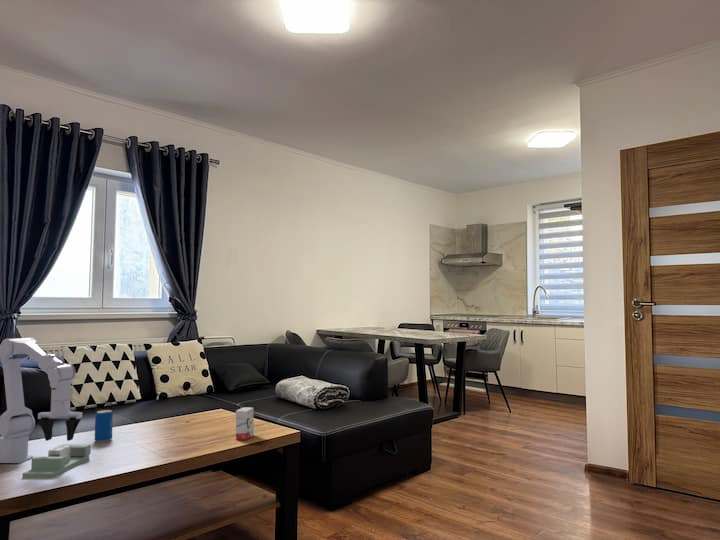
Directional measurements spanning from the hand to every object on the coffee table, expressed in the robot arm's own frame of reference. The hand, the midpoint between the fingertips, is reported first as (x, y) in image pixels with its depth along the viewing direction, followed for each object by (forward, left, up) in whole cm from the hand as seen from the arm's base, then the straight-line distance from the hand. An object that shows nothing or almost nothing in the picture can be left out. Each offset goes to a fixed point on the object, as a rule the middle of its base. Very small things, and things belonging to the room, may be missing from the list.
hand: (59, 439), depth 169 cm
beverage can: (-4, +35, -10) cm, 36 cm away
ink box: (+54, +40, -10) cm, 68 cm away
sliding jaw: (0, +9, -8) cm, 12 cm away
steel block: (0, 0, -8) cm, 8 cm away
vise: (0, 0, -9) cm, 9 cm away
